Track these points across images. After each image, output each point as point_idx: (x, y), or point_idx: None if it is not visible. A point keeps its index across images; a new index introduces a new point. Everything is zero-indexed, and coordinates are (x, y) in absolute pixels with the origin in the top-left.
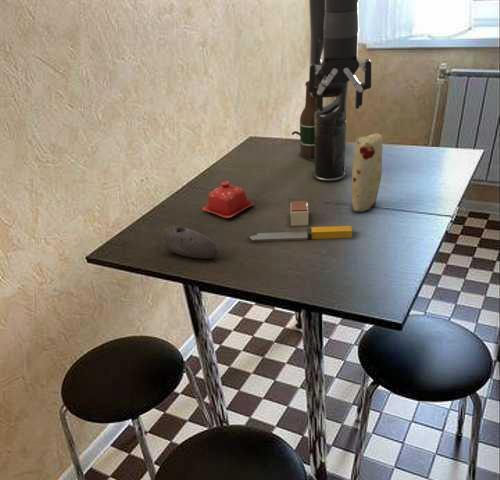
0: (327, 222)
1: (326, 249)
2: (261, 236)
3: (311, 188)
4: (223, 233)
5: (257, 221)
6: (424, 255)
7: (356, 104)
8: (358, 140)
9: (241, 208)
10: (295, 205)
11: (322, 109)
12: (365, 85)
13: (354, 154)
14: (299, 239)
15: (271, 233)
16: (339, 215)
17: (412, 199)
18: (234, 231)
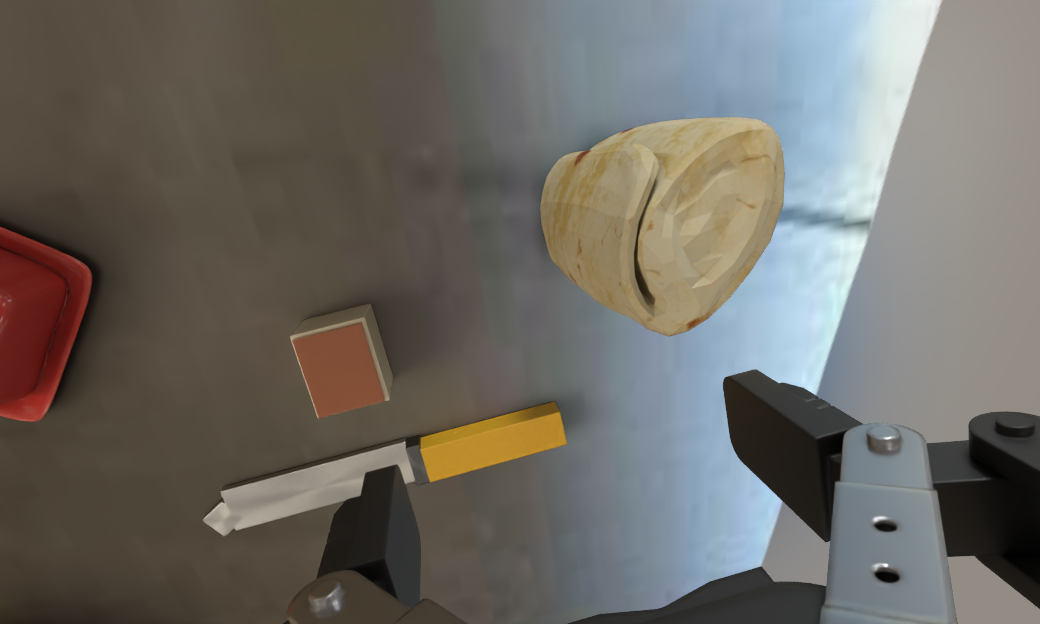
0: (460, 344)
1: (492, 516)
2: (247, 510)
3: (312, 20)
4: (79, 499)
5: (176, 386)
6: None
7: (756, 475)
8: (643, 265)
9: (55, 329)
10: (323, 375)
11: (418, 550)
12: (984, 545)
13: (600, 278)
14: None
15: (276, 482)
16: (495, 281)
17: (763, 97)
18: (117, 477)
